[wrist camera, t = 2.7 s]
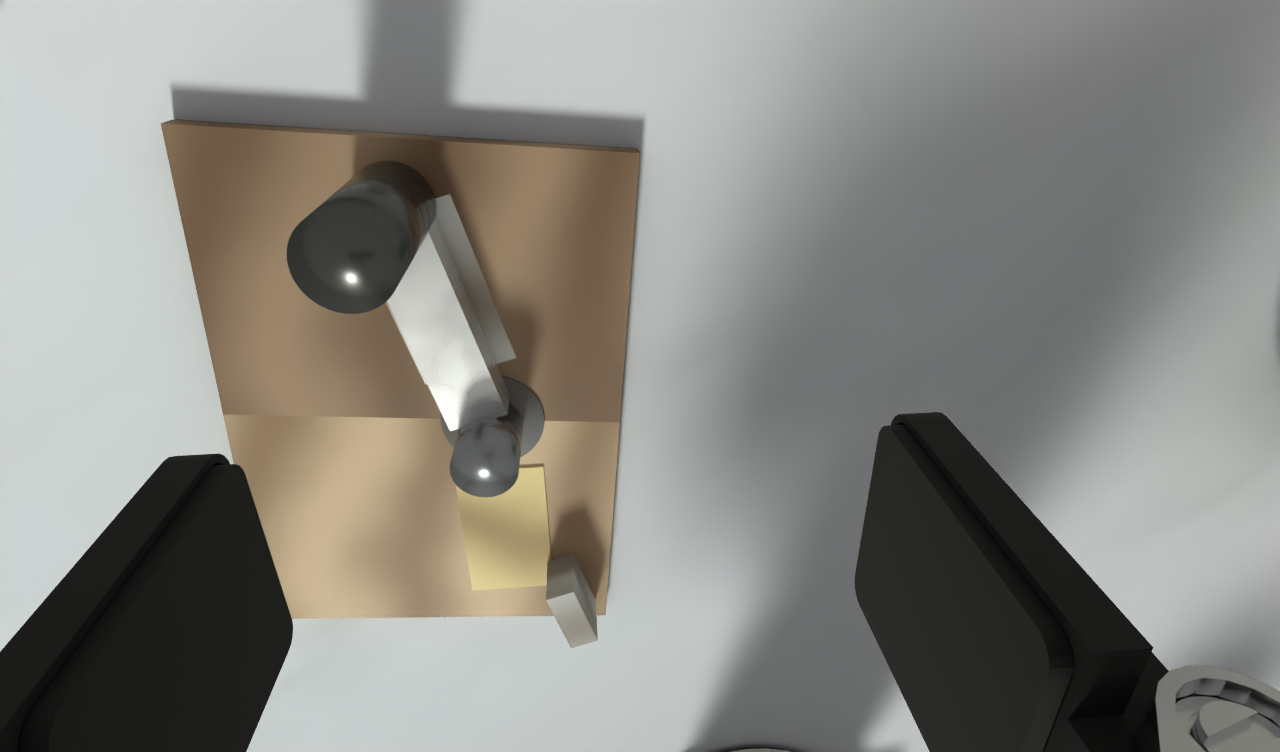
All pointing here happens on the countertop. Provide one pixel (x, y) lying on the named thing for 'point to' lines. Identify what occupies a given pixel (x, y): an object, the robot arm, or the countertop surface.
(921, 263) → the countertop surface
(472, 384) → the swing bar
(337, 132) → the plate
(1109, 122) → the countertop surface
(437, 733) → the countertop surface
